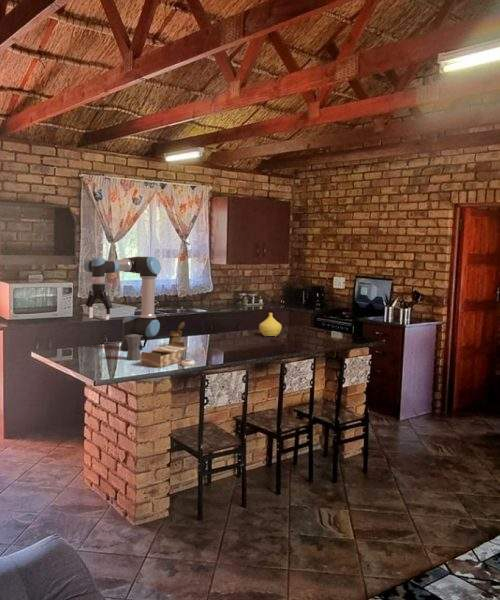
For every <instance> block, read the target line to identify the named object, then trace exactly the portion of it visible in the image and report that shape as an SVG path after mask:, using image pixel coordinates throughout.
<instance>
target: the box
mask: <svg viewBox="0 0 500 600" xmlns="http://www.w3.org/2000/svg"><path fill="white" fill-rule="evenodd" d="M140 355H141V359H140V366H142V365H146V366H145V367H150V366H153V367H152V368H157V367H160V368H159V369H163V368H166V367H169V365H170V366H172V365H175V364H179V363H181V351H177V352H173V353H167V352H159V351H152V350H150V351H141V353H140ZM165 366H166V367H165ZM162 367H163V368H162Z"/></svg>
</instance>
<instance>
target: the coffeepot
mask: <svg viewBox="0 0 500 600" xmlns="http://www.w3.org/2000/svg"><path fill="white" fill-rule="evenodd" d="M124 338H125V339H126V341H127V343H128V346H129V349H128V351H127V353H126V360H127V361H132V360H134V361H139V360H140V361H141V350H140V349H139V346H140V341H141V339H144V342H143V343H142V346H141V347H142V348H144V349H145V348H146V346H147V345H146V344H147V342H148V339H149V337H147V336H146V335H137V334H135V331H133V334H131V335H126V336H124ZM141 342H142V341H141Z"/></svg>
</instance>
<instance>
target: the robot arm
mask: <svg viewBox="0 0 500 600" xmlns="http://www.w3.org/2000/svg"><path fill="white" fill-rule="evenodd" d="M83 269H84V271H85V272H87V273H91V288H92V289H91V290H89V291H88V296H87V299H86V301H85V307H87V313H88V318H89V319H92V318H94V307H93V305H94V304H95V302H96V301H97V300H100V301H101V303H102V304H103V306H104V308H105V309H104V319H105V321H107V320H110V314H111V308H112V309H113V304H112V301H111V298H110V296H109V294H110V293H109V291H105V290H106V284H105V283H106V274H115V273H117V272H123V273H132V274H138V275H139V277H140V279H141V312H140V313H141V314H140V315H133V316H126V317H123V319H122V340H121V343H120V346H119V347H120V349H119V350H120V351H123V352H128V349H129V346H128V343H127V341H126V339H125V338H124V336H126V335H131V334H133V331H135V334H137V335H146V336H147V338H149V337H150V338H151V337H155V336H157V334H158V333H159V331H160V329H161V328H160V327H161V323H160V321H159V320H158V319H157V316H156V314H155V294H156V293H155V291H156V290H155V289H156V285H155V284H156V282H155V281H156V279H157V278H158V275H159V274H160V273H161V270H162V265H161V262H160V260H159V258H157V257H155V256H133V257H124V258H122V259H105V258H104V257H93V258H92V259H88V260H85V261H84V263H83ZM141 346H143V343H142V341H140V346H139V349H140V351H142V350H143V348H142V347H141Z"/></svg>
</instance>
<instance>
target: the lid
mask: <svg viewBox="0 0 500 600" xmlns="http://www.w3.org/2000/svg"><path fill="white" fill-rule="evenodd" d="M189 348H190V347H189V346H186V342H184V341H180V342H177V341H172V345H164V346H161V347H157V348H152V350H151V351H159V352H167V353H173V352H177V351H180V352H181V351H184V350H187V349H189Z"/></svg>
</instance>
